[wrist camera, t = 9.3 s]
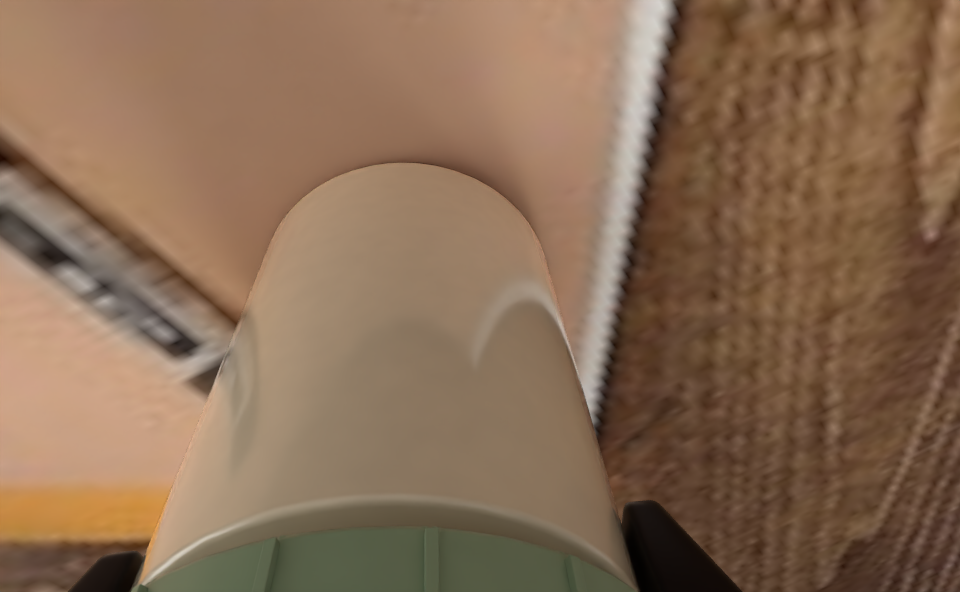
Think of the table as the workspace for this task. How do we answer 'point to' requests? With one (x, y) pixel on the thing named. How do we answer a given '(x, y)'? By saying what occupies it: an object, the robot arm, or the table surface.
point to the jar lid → (388, 565)
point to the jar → (396, 384)
